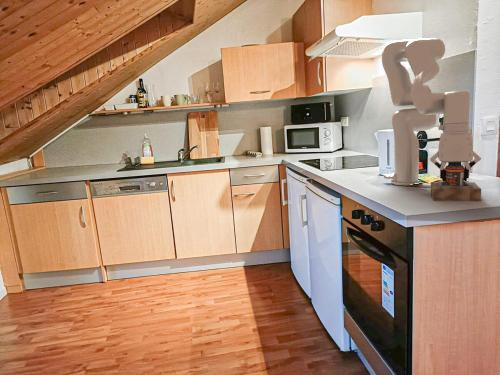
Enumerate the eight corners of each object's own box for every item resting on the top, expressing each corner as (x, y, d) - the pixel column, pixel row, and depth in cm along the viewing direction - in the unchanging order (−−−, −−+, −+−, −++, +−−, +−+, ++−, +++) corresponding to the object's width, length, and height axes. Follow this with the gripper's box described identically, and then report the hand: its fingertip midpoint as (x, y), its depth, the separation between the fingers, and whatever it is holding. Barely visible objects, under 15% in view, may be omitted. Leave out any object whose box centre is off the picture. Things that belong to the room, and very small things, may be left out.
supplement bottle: (441, 192, 126) (442, 160, 123) (447, 189, 130) (447, 158, 128) (460, 193, 121) (461, 160, 119) (465, 190, 125) (466, 158, 123)
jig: (433, 200, 123) (433, 187, 122) (430, 192, 134) (430, 180, 133) (480, 200, 117) (481, 187, 117) (474, 193, 128) (474, 180, 127)
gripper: (428, 130, 121) (427, 182, 125) (488, 127, 115) (485, 182, 118) (426, 129, 128) (425, 178, 131) (483, 126, 121) (480, 178, 125)
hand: (454, 180), depth 125 cm, fingers closed on supplement bottle, 5 cm apart
